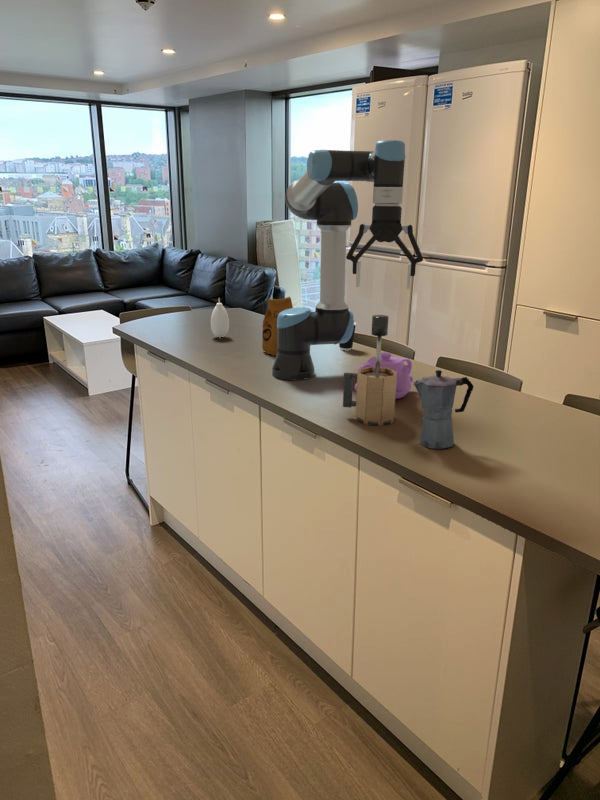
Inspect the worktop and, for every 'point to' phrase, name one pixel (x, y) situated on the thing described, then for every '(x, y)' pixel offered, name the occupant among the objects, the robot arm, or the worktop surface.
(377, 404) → the wooden slat mug
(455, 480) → the worktop surface
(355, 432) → the worktop surface
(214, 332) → the sauce bottle
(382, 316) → the plunger
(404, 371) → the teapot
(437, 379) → the moka pot
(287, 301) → the coffee package
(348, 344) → the dixie cup
